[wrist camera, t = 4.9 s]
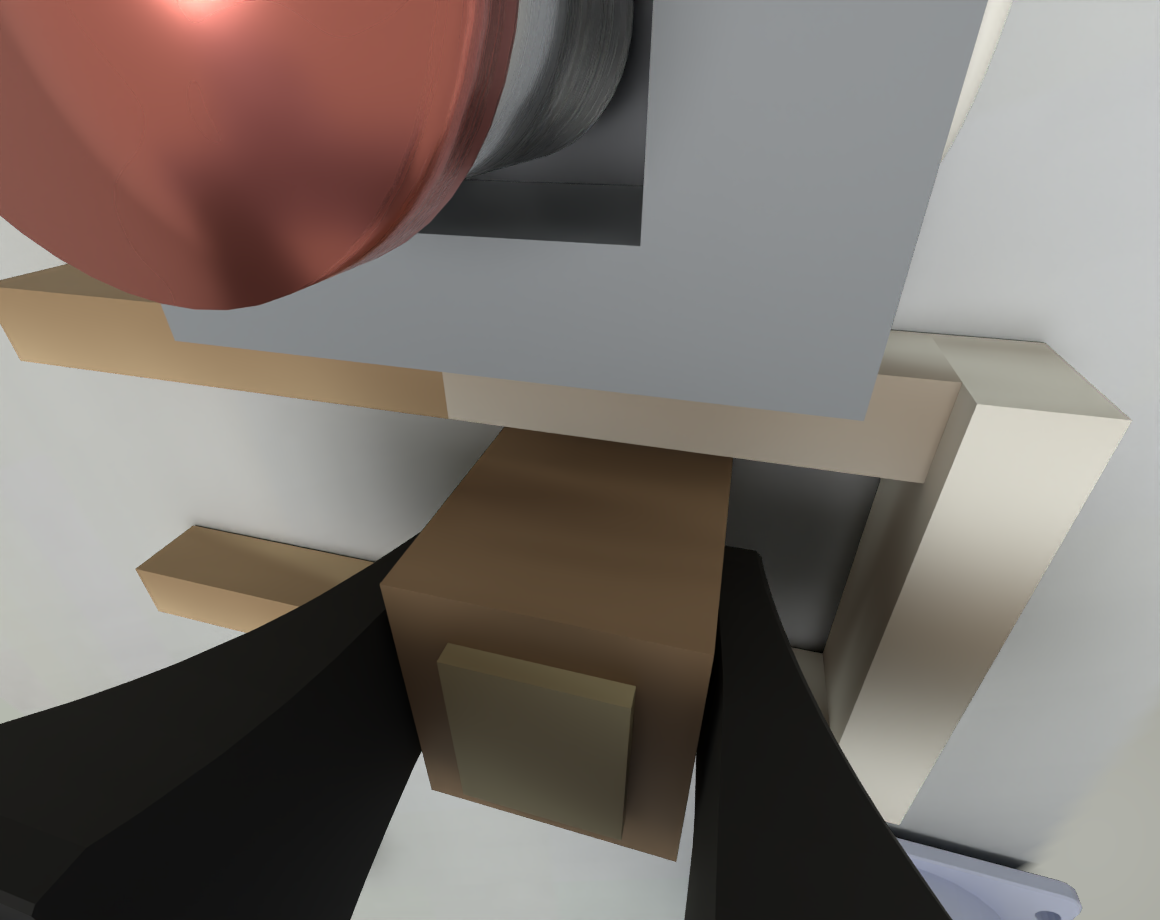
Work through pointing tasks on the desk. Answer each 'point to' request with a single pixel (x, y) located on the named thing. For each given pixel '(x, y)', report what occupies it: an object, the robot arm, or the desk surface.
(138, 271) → the plunger
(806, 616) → the desk surface
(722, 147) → the grey housing block
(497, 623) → the block
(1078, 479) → the channel
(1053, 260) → the desk surface
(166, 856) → the robot arm
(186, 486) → the desk surface
